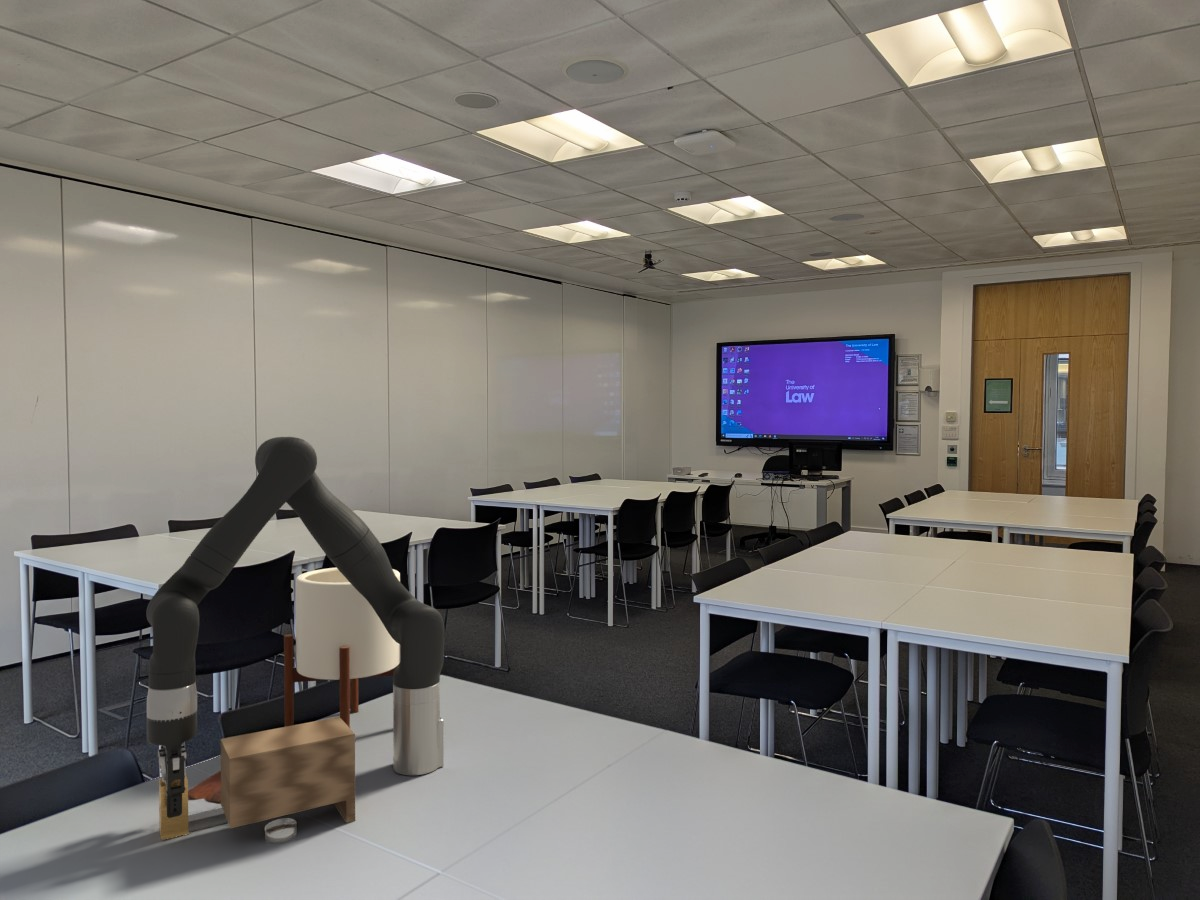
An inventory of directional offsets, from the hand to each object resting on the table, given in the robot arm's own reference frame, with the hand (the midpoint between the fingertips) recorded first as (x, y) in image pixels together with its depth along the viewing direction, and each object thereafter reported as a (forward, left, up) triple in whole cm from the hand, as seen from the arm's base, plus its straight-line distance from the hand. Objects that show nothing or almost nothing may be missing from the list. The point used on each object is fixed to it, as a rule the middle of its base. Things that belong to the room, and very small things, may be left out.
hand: (171, 805), depth 135 cm
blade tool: (-9, 0, -5) cm, 10 cm away
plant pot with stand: (-38, -31, -5) cm, 49 cm away
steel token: (-15, +11, -5) cm, 19 cm away
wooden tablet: (-15, -19, -5) cm, 25 cm away
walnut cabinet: (-17, +7, -5) cm, 19 cm away
